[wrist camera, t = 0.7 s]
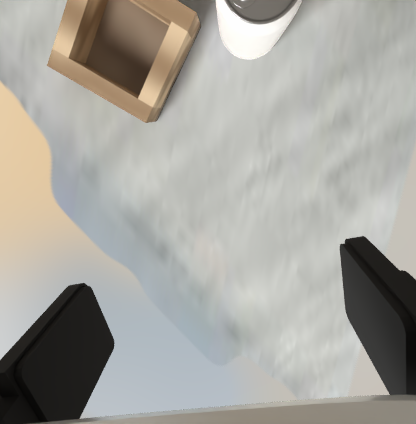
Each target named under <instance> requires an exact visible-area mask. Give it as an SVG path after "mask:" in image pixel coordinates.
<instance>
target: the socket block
mask: <svg viewBox="0 0 416 424" xmlns="http://www.w3.org/2000/svg"><path fill="white" fill-rule="evenodd" d="M200 28H201V25H200V22H199V19H198V16H197V13H196V12H195V11H193V10H192V9H190V8H188V7H187V6H185V5H184V4H182V3H181V2H179V1H178V0H67V4H66V7H65V10H64V13H63V16H62V20H61V23H60V26H59V29H58V32H57V35H56V39H55V42H54V45H53V48H52V51H51V55H50V58H49V61H48V64H47V66H49V67H50V68H52V69H54V70H56V71H57V72H59V73H61V74H62V75H64V76H66V77H68V78H69V79H71V80H73V81H75V82H76V83H78V84H80V85H81V86H83V87H85V88H87V89H88V90H90V91H92V92H94V93H95V94H97V95H99V96H100V97H102V98H104V99H106V100H107V101H109V102H111V103H113V104H114V105H116V106H118V107H119V108H121V109H123V110H125V111H126V112H128V113H130V114H131V115H133V116H135V117H137V118H138V119H140V120H142V121H144V122H145V123H148V122H155V121H157V119H158V117H159V115H160V112H161V110H162V108H163V106H164V104H165V102H166V100H167V98H168V95H169V93H170V91H171V89H172V87H173V85H174V83H175V81H176V79H177V76H178V74H179V72H180V70H181V68H182V66H183V64H184V62H185V59H186V57H187V55H188V53H189V51H190V49H191V47H192V45H193V43H194V40H195V38H196V36H197V34H198V32H199V30H200Z"/></svg>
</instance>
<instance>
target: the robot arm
mask: <svg viewBox="0 0 416 424" xmlns="http://www.w3.org/2000/svg"><path fill="white" fill-rule="evenodd" d="M340 256H341V266H342V277H343V288H344V299H345V309H346V314H347V317H348V319H349V321H350V323H351V325H352V326H353V328H354V330H355V332H356V334H357V336H358V337H359V339H360V341H361V343H362V345H363V346H364V348H365V350H366V352H367V354H368V355H369V357H370V359H371V361H372V363H373V365H374V366H375V368H376V370H377V372H378V374H379V375H380V377H381V379H382V381H383V383H384V385H385V387H386V388H387V390H388V392H389V394H390V395H372V396H355V397H339V398H323V399H308V400H295V401H282V402H270V403H257V404H245V405H234V406H221V407H209V408H198V409H186V410H173V411H163V412H150V413H140V414H128V415H117V416H105V417H95V418H84V419H79V418H80V416H81V414H82V412H83V410H84V408H85V406H86V404H87V402H88V400H89V398H90V396H91V394H92V392H93V390H94V388H95V386H96V384H97V382H98V380H99V377H100V375H101V373H102V371H103V369H104V367H105V365H106V363H107V361H108V359H109V357H110V355H111V353H112V351H113V349H114V339H113V336H112V334H111V332H110V329H109V327H108V325H107V323H106V320H105V318H104V316H103V313H102V311H101V309H100V307H99V304H98V302H97V300H96V297H95V295H94V293H93V290H92V288H91V287H90V286H87V285H86V284H85V283H81V284H75V285H70V286H68V287H67V288H66V289H65V290H64V291H63V292H62V293H61V294H60V295H59V297H58V298H57V299H56V300H55V301H54V302H53V303H52V304H51V305H50V306H49V308H48V309H47V310H46V311H45V312H44V313H43V314H42V315H41V316H40V317H39V318H38V319H37V321H36V322H35V323H34V324H33V325H32V326H31V327H30V328H29V329H28V331H26V333H25V334H24V335H23V336H22V337H21V338H20V339H19V341H17V342H16V343H15V345H14V346H13V347H12V348H11V349H10V350H9V351H8V352H7V353H6V354H5V355H4V357H3V358H2V359H1V360H0V424H416V280H415V279H414V278H413V277H412V276H411V275H410V274H409V273H407V272H406V271H400V270H398V269H397V268H396V267H395V266H394V265H393V264H392V263H391V262H390V261H389V260H388V259H387V258H386V257H385V256H384V255H383V254H382V253H381V252H380V251H379V250H378V249H377V248H376V247H375V246H374V245H373V244H372V243H371V242H370V241H369V240H368V239H367V238H366V237H364V236H362V237H356V238H350V239H346V240H345V244H341V245H340Z"/></svg>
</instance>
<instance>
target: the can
mask: <svg viewBox="0 0 416 424" xmlns="http://www.w3.org/2000/svg"><path fill="white" fill-rule="evenodd" d="M301 3H302V0H216V8H217V17H218V24H219V31H220V36H221V39H222V41H223V43H224V45H225V47H226V48H227V49H228V50H229V51H230V52H231V53H232V54H233V55H235V56H236V57H239V58H242V59H256V58H259V57H261V56H263V55H265V54H266V53H267V52H269V51H270V50H271V49H272V47H273V46H274V45H275V44H276V42H277V41H278V40H279V38H280V37H281V35H282V34H283V32H284V31H285V29H286V28H287V26H288V25H289V24H290V22H291V21H292V19H293V17H294V16H295V14H296V13H297V11H298V9H299V7H300V5H301Z"/></svg>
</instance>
